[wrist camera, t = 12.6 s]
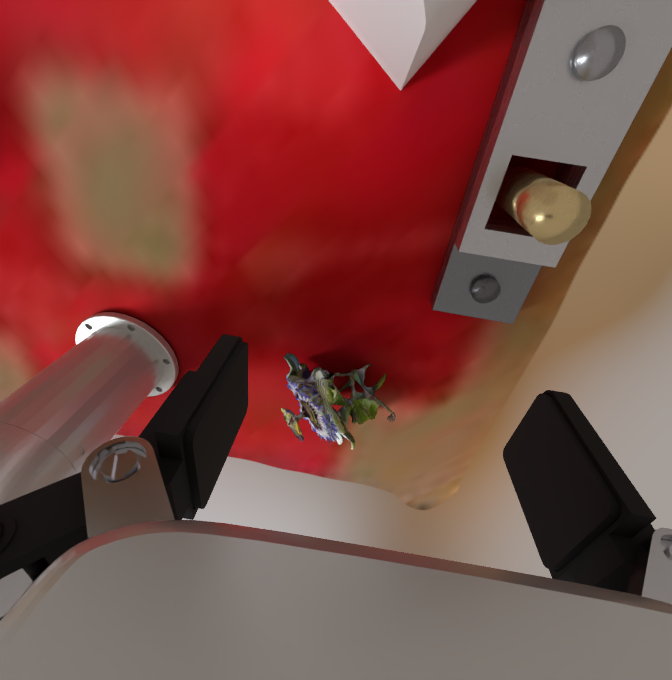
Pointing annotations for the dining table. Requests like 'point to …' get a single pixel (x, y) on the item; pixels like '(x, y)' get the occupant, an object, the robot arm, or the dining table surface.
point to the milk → (402, 30)
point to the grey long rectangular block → (550, 136)
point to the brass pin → (543, 205)
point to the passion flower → (329, 401)
